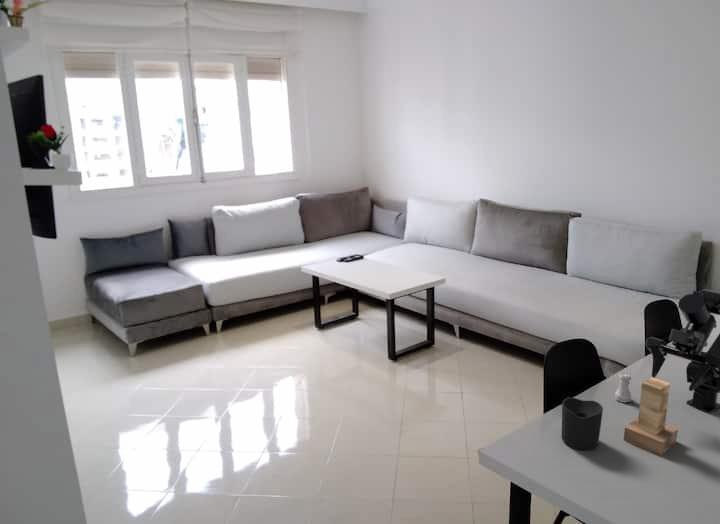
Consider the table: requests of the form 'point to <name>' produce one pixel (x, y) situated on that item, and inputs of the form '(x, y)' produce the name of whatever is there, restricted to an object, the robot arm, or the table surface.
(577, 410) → the pen holder
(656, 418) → the oak pillar
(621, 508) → the table surface
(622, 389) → the rook chess piece
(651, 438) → the light brown block
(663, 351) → the robot arm
